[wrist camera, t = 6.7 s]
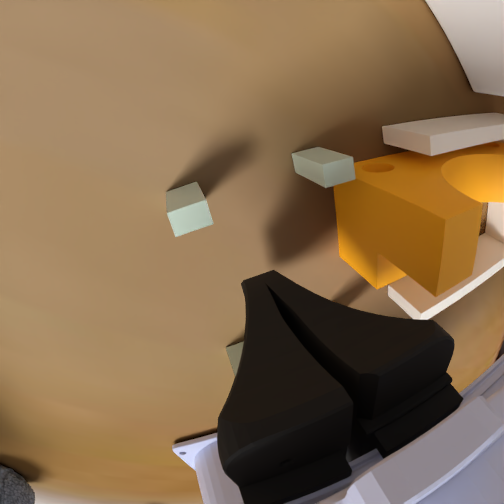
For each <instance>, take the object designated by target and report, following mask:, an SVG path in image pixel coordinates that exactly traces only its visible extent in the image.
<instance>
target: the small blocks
mask: <svg viewBox="0 0 504 504" xmlns="http://www.w3.org/2000/svg"><path fill="white" fill-rule="evenodd" d="M166 205H167V214H168V217H169V220H170V223H171V225H172V228H173V231H174V234H175V236H176V237H177V236H180V235H183V234H186V233H189V232H192V231H195V230H197V229H200V228H203V227H206V226H209V225H212V224H213V221H212V217H211V214H210V211H209V208H208V205H207V201H206V199H205V197H204V195H203V193H202V191H201V189H200V187H199V185H198V183H197V182H194V183H191V184H188V185H185V186H182V187H179V188H176V189H173V190H170V191H167V192H166ZM243 343H244V341H243V342H240V343H238V344H235V345H232V346H229V347H226V350H227V353H228V356H229V359H230V362H231V365H232V368H233V371H234V374H235V377H236V374H237V370H238V367H239V363H240V358H241V354H242V349H243Z"/></svg>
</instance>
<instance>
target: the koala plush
mask: <svg viewBox="0 0 504 504" xmlns="http://www.w3.org/2000/svg"><path fill="white" fill-rule="evenodd" d="M34 502H35V494H34V492H33V489H31V486H30V485H29V484H28V483H27V482H26V481H25V479H24V478H23V477H22V476H20V475H19V474H17V473H16V472H14V470H13V469H10V468H7V467H4V466H2V465H0V504H34Z"/></svg>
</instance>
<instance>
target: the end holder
mask: <svg viewBox="0 0 504 504" xmlns="http://www.w3.org/2000/svg"><path fill="white" fill-rule="evenodd" d="M382 132H383V140H384V144H388V145H392V146H396V147H400V148H404V149H408V150H411V151H415V152H418V153H422V154H425V155H429V156H434V155H438V154H442V153H446V152H450V151H454V150H458V149H462V148H467V147H471V146H475V145H480V144H484V143H488V142H493V141H498V142H502V143H504V114H500V113H481V114H470V115H460V116H451V117H442V118H434V119H427V120H419V121H413V122H406V123H400V124H394V125H388V126H382ZM502 267H504V203H499V202H488V212H487V221H486V229H485V233H484V234H482V235H480V236H479V238H478V245H477V251H476V256H475V262H474V267H473V272H472V275H471V276H470V277H468V278H466V279H465V280H463V281H462V282H460V283H458V284H457V285H455V286H454V287H452V288H450V289H449V290H447V291H445V292H444V293H442V294H440V295H439V296H437V297H434V296H433V295H432V294H431V293H430V292H428V291H427V290H426V289H425V288H423V287H422V286H421V285H420V284H418V283H417V282H416V281H414V280H413V279H412V278H411V277H409V276H408V275H407V276H405V277H403V278H401V279H399V280H397V281H395V282H393V283H391V284H389V285H388V296H389V297H390V298H391V299H392V300H393V301H394V302H396V303H397V304H398V305H399V306H400V307H401V308H402V309H403V310H404V311H405V312H406V313H407V314H408V315H409V316H411V317H412V318H413V319H420V320H428V319H429V318H431V317H433V316H434V315H436V314H437V313H439V312H441V311H442V310H444V309H445V308H447V307H448V306H450V305H451V304H453V303H454V302H456V301H457V300H459V299H460V298H462V297H463V296H465V295H466V294H467V293H469V292H470V291H472V290H473V289H474V288H476V287H477V286H479V285H480V284H481V283H483V282H484V281H485V280H487V279H488V278H489V277H491V276H492V275H493V274H495V273H496V272H497V271H499V270H500V269H501V268H502Z"/></svg>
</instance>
